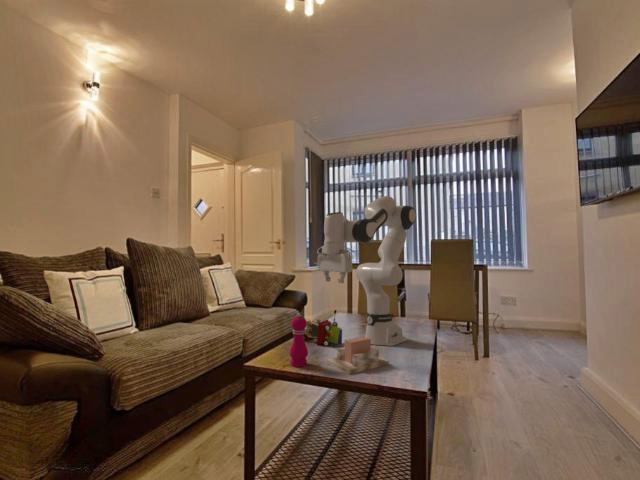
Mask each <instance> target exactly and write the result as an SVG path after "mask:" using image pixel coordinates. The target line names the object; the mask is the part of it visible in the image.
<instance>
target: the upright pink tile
mask: <svg viewBox="0 0 640 480" xmlns="http://www.w3.org/2000/svg"><path fill="white" fill-rule="evenodd" d="M371 345H372V344H371V339H369V338H366V337H365V336H360V337H356V338H349V339H345V340H344V347H345V361H346V362H348V363H350V364H352V355H354V354H359V353H364V352H369V351H372V349H371V348H372V347H371Z"/></svg>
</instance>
